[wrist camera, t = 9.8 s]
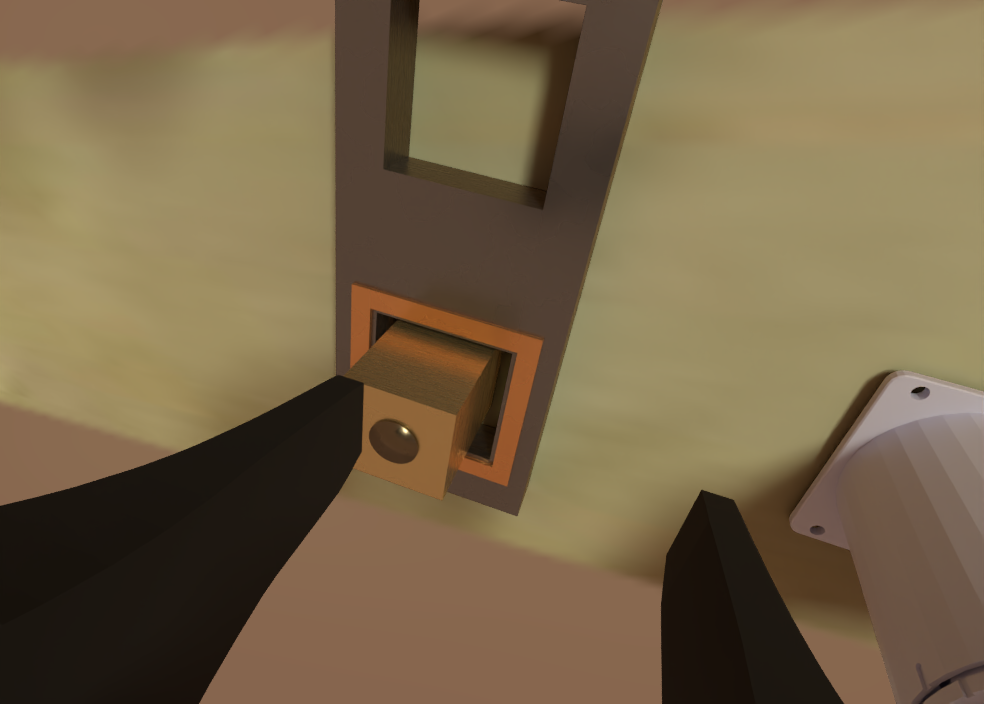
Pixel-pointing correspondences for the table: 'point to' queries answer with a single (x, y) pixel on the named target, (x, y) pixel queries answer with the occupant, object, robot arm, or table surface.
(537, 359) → the grey slotted board
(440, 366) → the tan square knob peg
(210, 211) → the table surface
